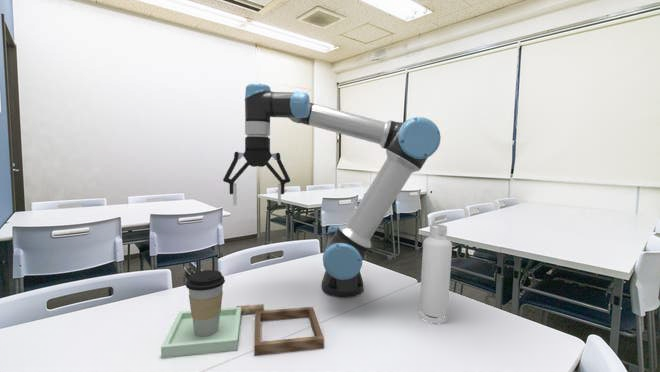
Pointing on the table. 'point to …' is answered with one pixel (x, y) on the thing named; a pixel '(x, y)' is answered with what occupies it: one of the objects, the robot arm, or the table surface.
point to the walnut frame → (287, 344)
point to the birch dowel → (251, 308)
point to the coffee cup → (205, 300)
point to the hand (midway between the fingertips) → (257, 204)
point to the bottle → (435, 275)
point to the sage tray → (188, 343)
